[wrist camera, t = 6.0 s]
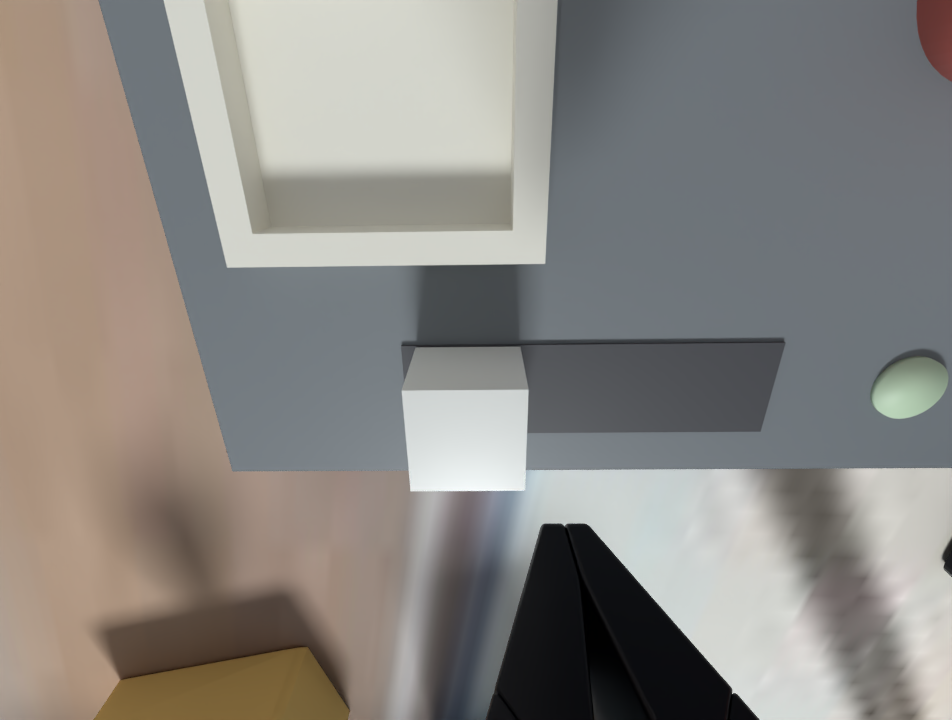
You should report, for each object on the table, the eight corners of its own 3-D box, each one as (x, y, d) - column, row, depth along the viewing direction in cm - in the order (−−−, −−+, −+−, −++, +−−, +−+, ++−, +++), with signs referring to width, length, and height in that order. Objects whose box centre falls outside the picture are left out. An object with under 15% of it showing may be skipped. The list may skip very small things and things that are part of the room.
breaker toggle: (520, 346, 13) (528, 389, 11) (517, 434, 15) (524, 490, 12) (415, 347, 13) (401, 390, 11) (422, 435, 15) (410, 491, 12)
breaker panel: (1249, -262, 9) (1516, -403, 7) (925, 441, 17) (1002, 492, 14) (80, -228, 10) (-51, -349, 7) (252, 445, 17) (213, 496, 14)
